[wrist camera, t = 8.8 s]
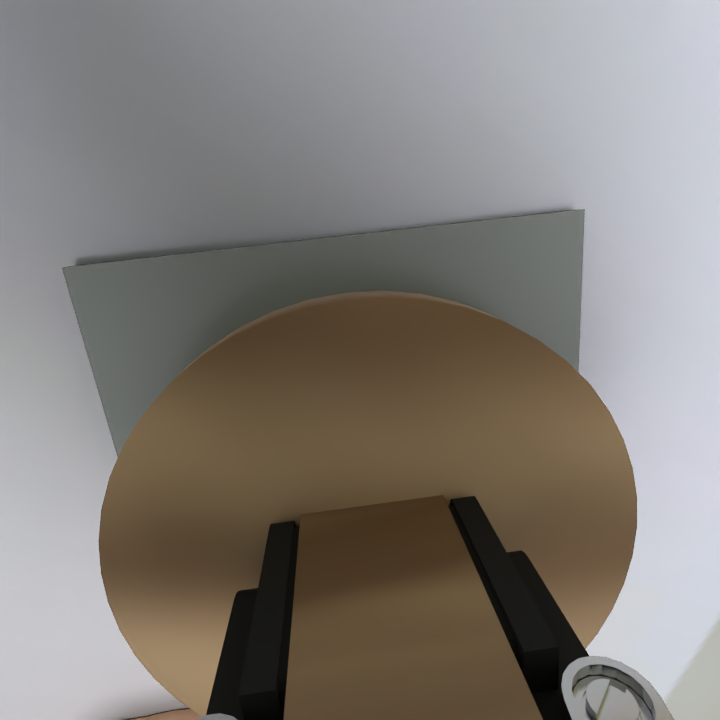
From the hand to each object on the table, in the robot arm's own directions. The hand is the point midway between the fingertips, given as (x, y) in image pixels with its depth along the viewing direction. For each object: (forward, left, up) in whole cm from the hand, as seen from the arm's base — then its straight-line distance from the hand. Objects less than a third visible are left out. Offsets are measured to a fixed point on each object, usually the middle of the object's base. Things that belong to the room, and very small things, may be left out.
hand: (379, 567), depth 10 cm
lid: (0, 0, -1) cm, 1 cm away
